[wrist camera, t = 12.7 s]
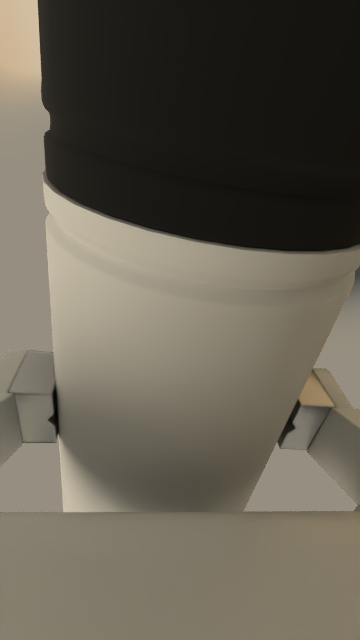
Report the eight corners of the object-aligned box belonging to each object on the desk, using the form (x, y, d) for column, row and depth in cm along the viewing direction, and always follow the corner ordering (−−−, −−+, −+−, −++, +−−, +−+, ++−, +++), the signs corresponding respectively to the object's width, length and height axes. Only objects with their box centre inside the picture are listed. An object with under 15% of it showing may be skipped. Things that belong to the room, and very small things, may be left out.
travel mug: (207, 673, 13) (805, -137, 2) (41, 632, 13) (-149, -280, 2) (214, 510, 18) (403, 37, 7) (96, 484, 18) (113, -14, 8)
